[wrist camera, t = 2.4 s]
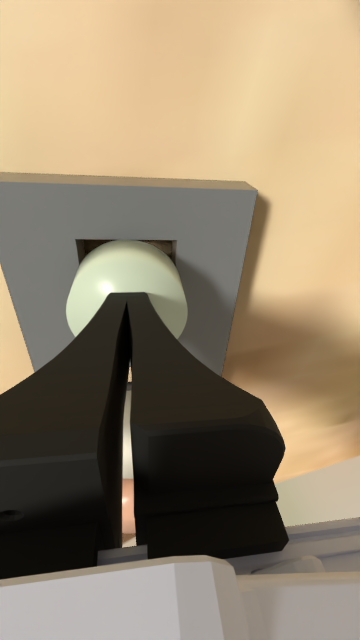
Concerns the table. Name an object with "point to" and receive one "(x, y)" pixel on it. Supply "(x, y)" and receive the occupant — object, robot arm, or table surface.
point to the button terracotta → (128, 507)
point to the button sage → (127, 283)
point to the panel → (118, 224)
